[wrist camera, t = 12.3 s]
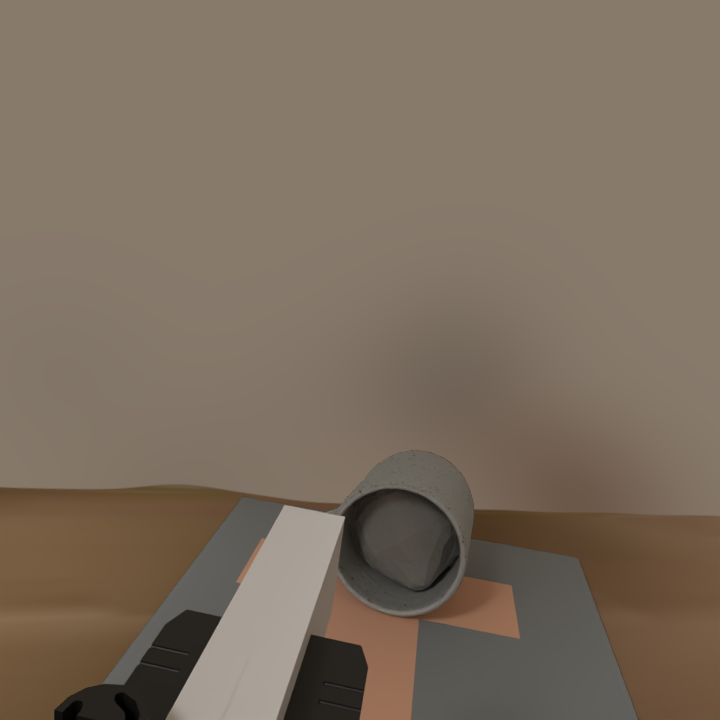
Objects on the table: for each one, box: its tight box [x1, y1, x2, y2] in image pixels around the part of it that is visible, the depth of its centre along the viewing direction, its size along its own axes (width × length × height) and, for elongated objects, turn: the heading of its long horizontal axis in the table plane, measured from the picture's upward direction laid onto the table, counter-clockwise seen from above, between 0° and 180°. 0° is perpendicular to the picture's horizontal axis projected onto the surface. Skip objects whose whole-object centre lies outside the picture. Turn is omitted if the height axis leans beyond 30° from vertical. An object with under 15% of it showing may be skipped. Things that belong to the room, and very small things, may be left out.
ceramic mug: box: [326, 450, 474, 617], centre depth 37 cm, size 11×8×8 cm
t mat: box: [102, 497, 638, 720], centre depth 29 cm, size 24×30×1 cm
